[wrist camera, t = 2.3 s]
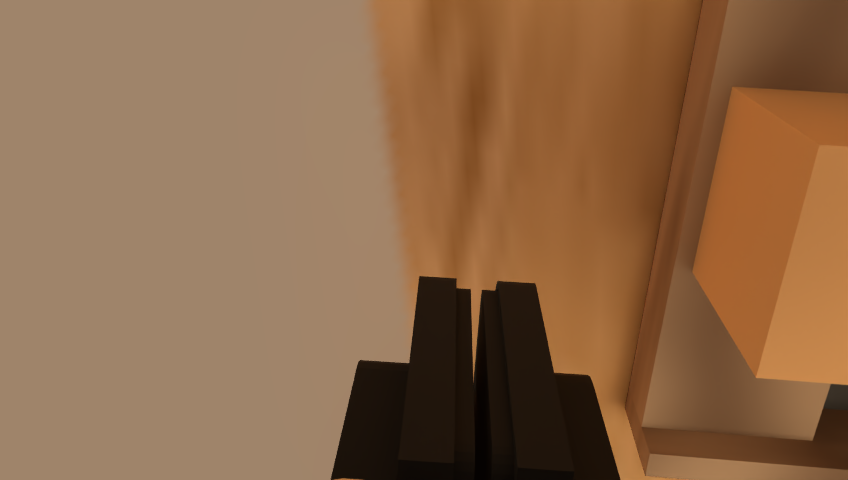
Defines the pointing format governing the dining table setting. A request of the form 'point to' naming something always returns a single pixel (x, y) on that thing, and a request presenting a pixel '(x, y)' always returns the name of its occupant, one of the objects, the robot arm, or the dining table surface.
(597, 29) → the dining table surface
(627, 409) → the box
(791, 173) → the orange block
